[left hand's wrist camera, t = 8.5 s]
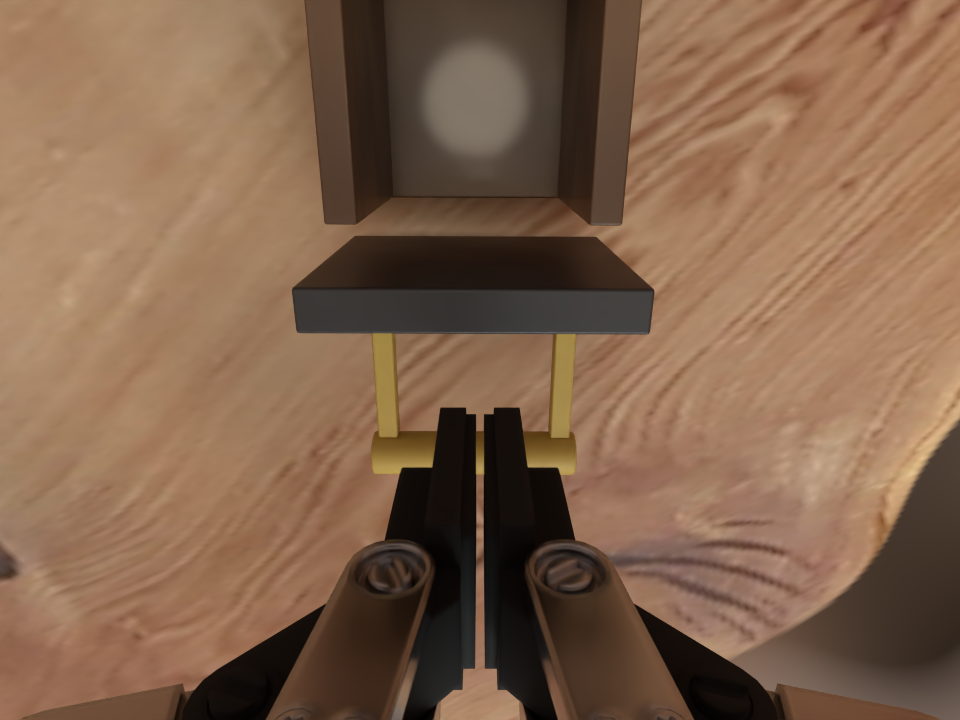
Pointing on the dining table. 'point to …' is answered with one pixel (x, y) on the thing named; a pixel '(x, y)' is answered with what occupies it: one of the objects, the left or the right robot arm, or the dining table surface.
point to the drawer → (473, 183)
